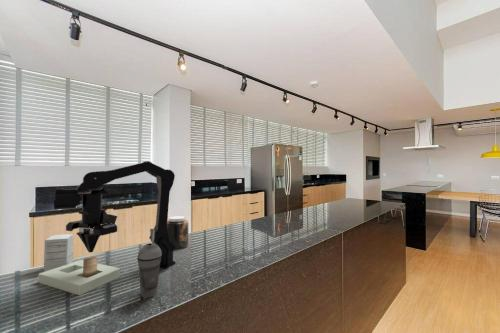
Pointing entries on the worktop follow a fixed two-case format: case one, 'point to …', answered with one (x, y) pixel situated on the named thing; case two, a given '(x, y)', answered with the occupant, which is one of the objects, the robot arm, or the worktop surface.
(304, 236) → the worktop surface
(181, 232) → the jar
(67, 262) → the supplement box
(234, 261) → the worktop surface
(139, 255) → the beverage cup
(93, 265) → the peg
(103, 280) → the board
